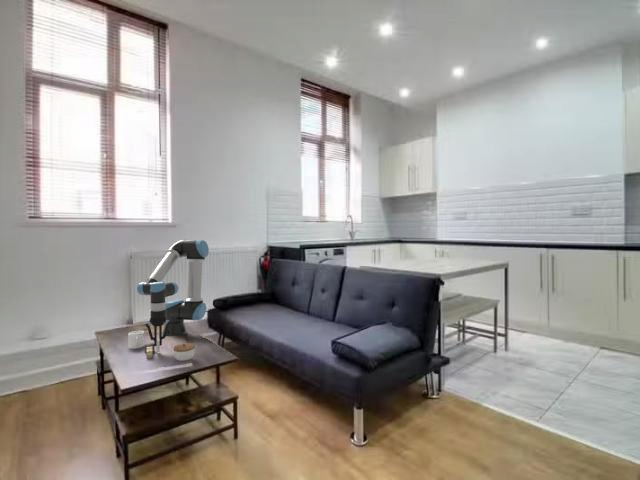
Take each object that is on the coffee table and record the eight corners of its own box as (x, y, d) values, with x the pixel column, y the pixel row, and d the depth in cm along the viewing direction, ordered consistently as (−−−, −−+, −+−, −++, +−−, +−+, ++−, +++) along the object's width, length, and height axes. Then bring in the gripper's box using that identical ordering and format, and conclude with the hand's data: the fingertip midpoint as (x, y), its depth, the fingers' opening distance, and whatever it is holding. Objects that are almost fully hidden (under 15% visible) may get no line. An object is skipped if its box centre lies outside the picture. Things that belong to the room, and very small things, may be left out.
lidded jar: (177, 357, 191) (177, 340, 190) (197, 356, 192) (197, 340, 191) (170, 364, 180) (170, 347, 180) (191, 364, 181) (191, 346, 181)
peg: (144, 350, 195) (144, 343, 195) (154, 349, 198) (154, 342, 197) (144, 359, 183) (144, 351, 183) (154, 357, 185) (154, 350, 185)
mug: (129, 354, 194) (128, 337, 194) (128, 348, 204) (128, 331, 204) (144, 351, 198) (144, 335, 198) (143, 345, 208) (143, 329, 208)
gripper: (170, 307, 197) (170, 347, 198) (145, 309, 191) (145, 351, 192) (171, 310, 191) (170, 351, 191) (144, 312, 185) (144, 355, 185)
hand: (158, 351), depth 192 cm, fingers closed
